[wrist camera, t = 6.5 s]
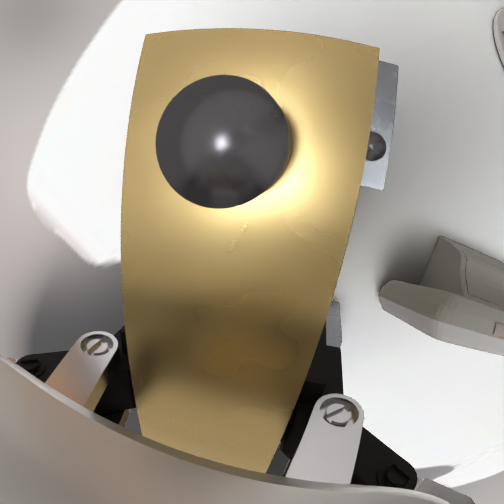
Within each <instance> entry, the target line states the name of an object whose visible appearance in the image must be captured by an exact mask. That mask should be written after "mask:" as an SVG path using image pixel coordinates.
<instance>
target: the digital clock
mask: <svg viewBox="0 0 504 504" xmlns="http://www.w3.org/2000/svg"><path fill="white" fill-rule="evenodd" d="M378 297H379V300H380V303H381V305H382V308H383V310H385V311H387V312H388V313H390V314H392V315H394V316H395V317H397V318H399V319H401V320H402V321H404V322H406V323H408V324H409V325H411V326H413V327H415V328H416V329H418V330H420V331H421V332H423V333H425V334H427V335H429V336H431V337H433V338H435V339H437V340H440V341H444V342H447V343H451V344H455V345H459V346H463V347H467V348H472V349H476V350H480V351H485V352H489V353H493V354H498V355H502V356H504V263H502V262H500V261H497V260H495V259H493V258H491V257H489V256H487V255H484V254H482V253H480V252H478V251H475V250H473V249H471V248H469V247H466V246H464V245H462V244H459V243H457V242H455V241H452V240H450V239H447V238H445V237H442V236H440V237H439V239H438V241H437V243H436V246H435V248H434V251H433V253H432V256H431V258H430V261H429V263H428V266H427V268H426V270H425V273H424V275H423V277H422V279H421V282H420V284H419V285H416V284H411V283H407V282H402V281H397V280H391V281H389V282H388V283H386V284H385V285H384V286H383V287H382V288H381V290H380V292H379V295H378Z"/></svg>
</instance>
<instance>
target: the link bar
mask: <svg viewBox="0 0 504 504" xmlns="http://www.w3.org/2000/svg"><path fill="white" fill-rule="evenodd" d="M378 61H379V48H376V47H372V46H368V45H364V44H360V43H356V42H351V41H346V40H341V39H336V38H331V37H325V36H319V35H313V34H306V33H298V32H289V31H279V30H265V29H242V28H217V29H193V30H180V31H170V32H161V33H153V34H146V36H145V39H144V44H143V48H142V52H141V56H140V61H139V65H138V70H137V75H136V80H135V86H134V91H133V97H132V103H131V110H130V116H129V124H128V131H127V140H126V149H125V159H124V171H123V186H122V206H121V272H122V273H121V275H122V296H123V310H124V322H125V333H126V342H127V350H128V358H129V365H130V372H131V379H132V385H133V391H134V397H135V402H136V407H137V412H138V417H139V422H140V427H141V431H142V435H143V436H144V437H147V438H149V439H151V440H154V441H156V442H159V443H161V444H164V445H167V446H169V447H172V448H175V449H178V450H180V451H183V452H186V453H189V454H192V455H195V456H198V457H202V458H205V459H208V460H212V461H215V462H219V463H222V464H226V465H230V466H234V467H238V468H242V469H246V470H251V471H255V472H260V473H266V471H267V469H268V467H269V465H270V462H271V460H272V458H273V456H274V454H275V452H276V449H277V447H278V445H279V443H280V440H281V438H282V436H283V433H284V431H285V429H286V426H287V424H288V422H289V419H290V417H291V414H292V412H293V410H294V407H295V405H296V402H297V400H298V397H299V394H300V392H301V389H302V387H303V384H304V381H305V379H306V376H307V373H308V370H309V368H310V365H311V362H312V359H313V356H314V354H315V351H316V348H317V345H318V342H319V339H320V336H321V333H322V330H323V327H324V324H325V320H326V317H327V314H328V311H329V308H330V304H331V301H332V298H333V294H334V291H335V287H336V284H337V280H338V277H339V273H340V270H341V266H342V262H343V258H344V255H345V251H346V247H347V243H348V239H349V235H350V231H351V226H352V222H353V218H354V213H355V209H356V204H357V200H358V195H359V190H360V185H361V180H362V175H363V170H364V164H365V159H366V153H367V147H368V141H369V135H370V128H371V122H372V115H373V107H374V99H375V91H376V82H377V72H378Z"/></svg>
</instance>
